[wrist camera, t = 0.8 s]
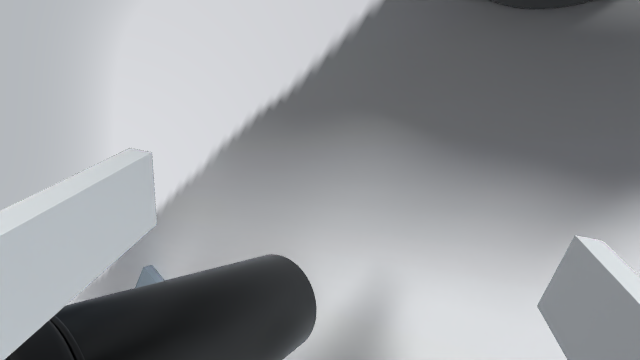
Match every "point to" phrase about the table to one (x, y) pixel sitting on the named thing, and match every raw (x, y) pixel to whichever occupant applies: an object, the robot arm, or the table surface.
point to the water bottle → (187, 318)
